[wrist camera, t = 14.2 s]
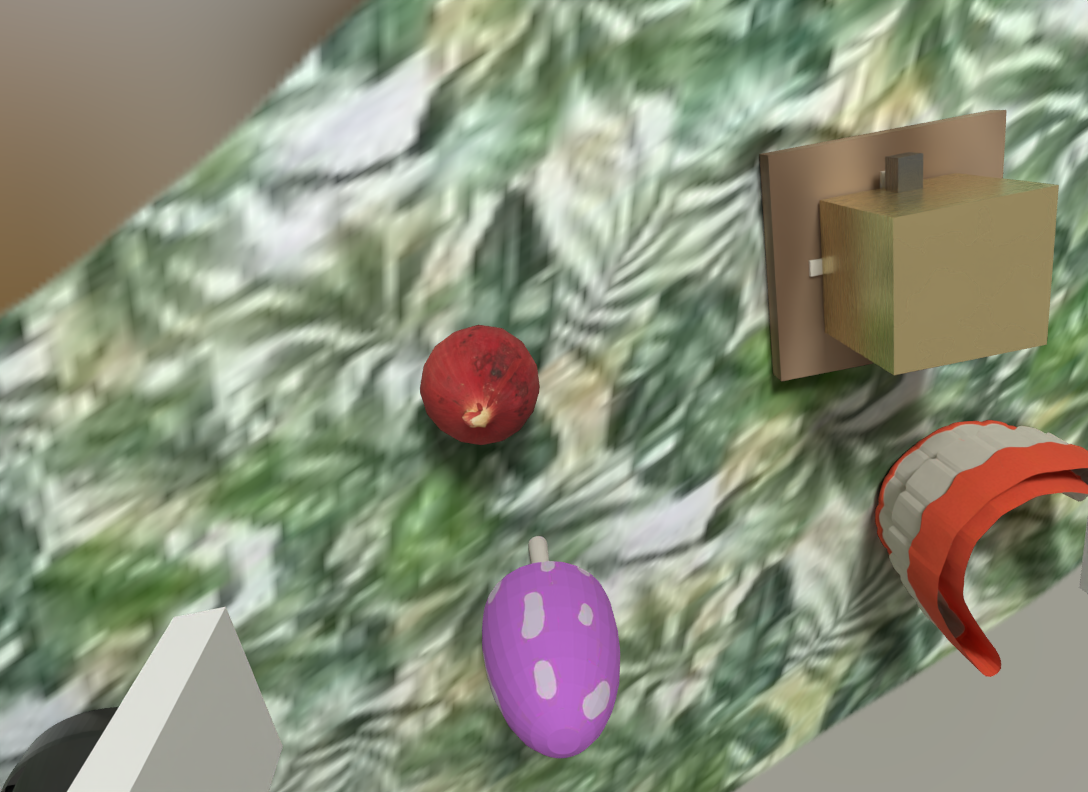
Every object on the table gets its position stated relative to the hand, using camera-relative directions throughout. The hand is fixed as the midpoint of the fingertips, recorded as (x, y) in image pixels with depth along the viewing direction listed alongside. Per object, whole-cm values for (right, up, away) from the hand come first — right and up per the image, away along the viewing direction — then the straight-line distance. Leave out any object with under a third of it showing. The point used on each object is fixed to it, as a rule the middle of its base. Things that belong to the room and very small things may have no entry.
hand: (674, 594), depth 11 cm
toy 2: (+23, -2, +34) cm, 41 cm away
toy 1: (-2, -6, +33) cm, 34 cm away
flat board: (+16, +11, +28) cm, 34 cm away
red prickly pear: (-5, +5, +29) cm, 30 cm away
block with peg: (+16, +10, +27) cm, 33 cm away
